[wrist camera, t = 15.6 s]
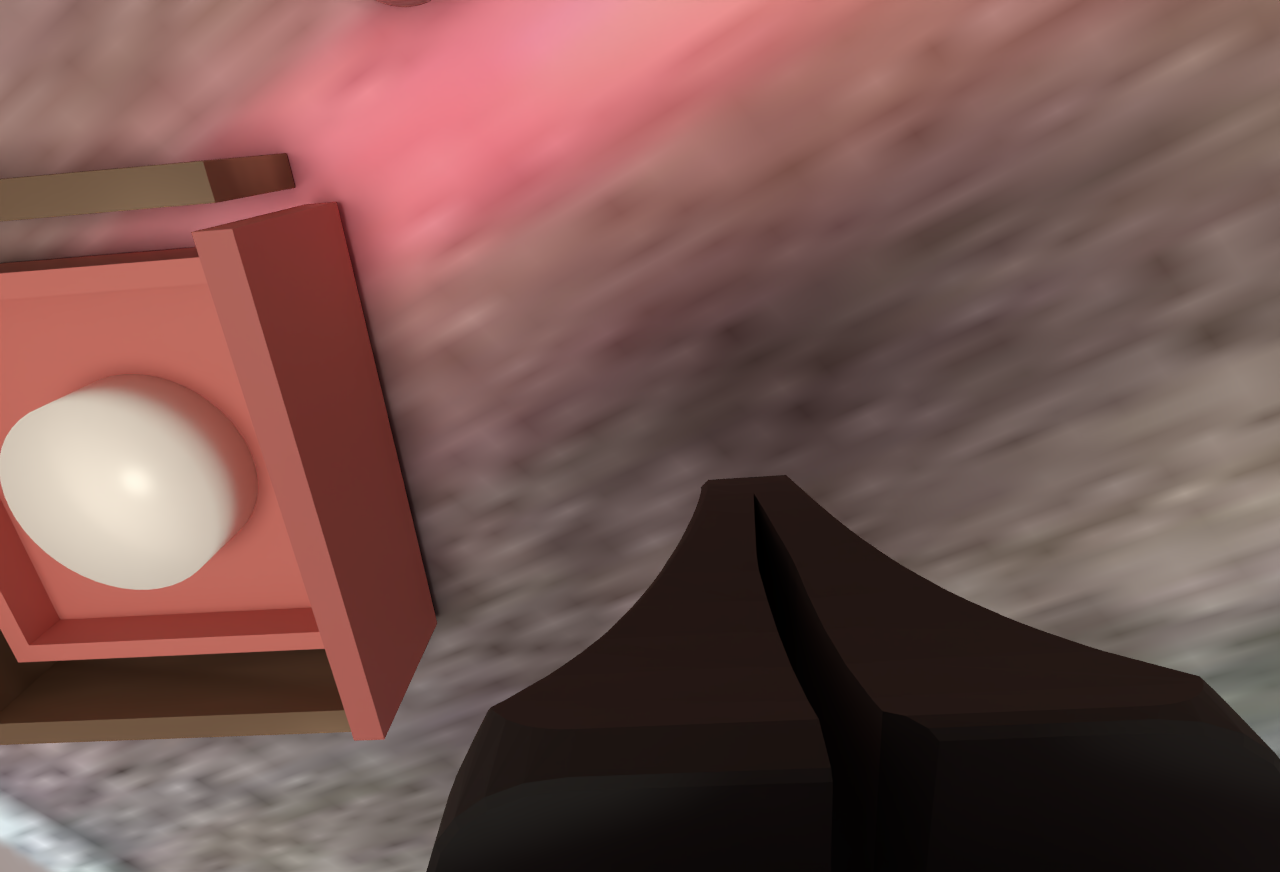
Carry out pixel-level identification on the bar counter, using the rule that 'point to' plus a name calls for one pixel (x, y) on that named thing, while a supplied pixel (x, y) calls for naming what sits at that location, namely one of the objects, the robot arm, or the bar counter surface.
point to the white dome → (129, 480)
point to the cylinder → (403, 2)
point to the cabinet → (181, 684)
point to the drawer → (275, 434)
